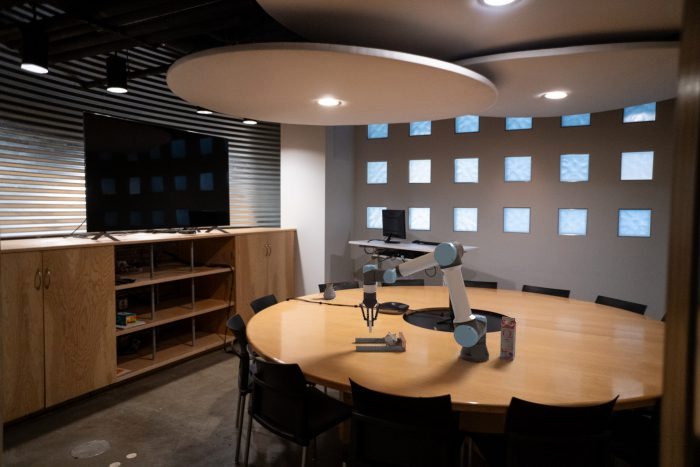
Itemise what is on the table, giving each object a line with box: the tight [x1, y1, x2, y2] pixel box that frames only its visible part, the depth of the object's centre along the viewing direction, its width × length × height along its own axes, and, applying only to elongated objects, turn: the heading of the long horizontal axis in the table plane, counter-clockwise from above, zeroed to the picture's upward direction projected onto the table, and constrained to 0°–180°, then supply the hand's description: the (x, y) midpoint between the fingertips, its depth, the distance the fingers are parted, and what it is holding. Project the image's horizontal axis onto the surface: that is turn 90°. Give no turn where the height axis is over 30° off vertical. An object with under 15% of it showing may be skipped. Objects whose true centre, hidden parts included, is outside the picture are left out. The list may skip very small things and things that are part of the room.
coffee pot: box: [322, 282, 346, 300], centre depth 383 cm, size 21×12×15 cm, turn 63°
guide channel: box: [354, 331, 407, 352], centre depth 255 cm, size 17×28×6 cm, turn 90°
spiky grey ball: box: [382, 331, 399, 346], centre depth 255 cm, size 9×8×10 cm
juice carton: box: [499, 316, 517, 361], centre depth 237 cm, size 7×7×22 cm
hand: (370, 332), depth 254 cm, fingers closed
